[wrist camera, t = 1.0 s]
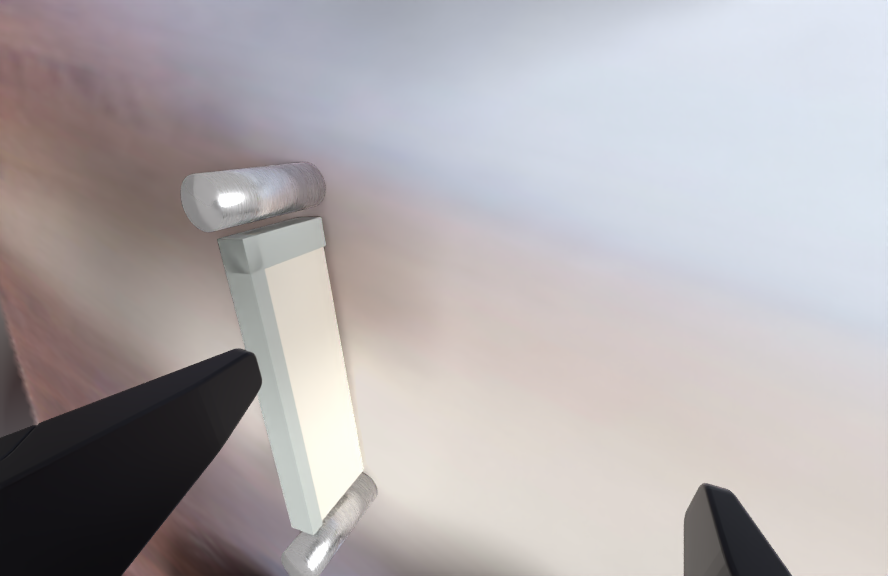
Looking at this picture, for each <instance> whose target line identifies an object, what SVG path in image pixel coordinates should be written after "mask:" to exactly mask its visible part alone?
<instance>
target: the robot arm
mask: <svg viewBox="0 0 888 576" xmlns="http://www.w3.org/2000/svg"><path fill="white" fill-rule="evenodd" d="M261 386H262V376H261V372H260V369H259V365H258V361H257V358H256V355H255V354H254V353H252V352H250V351H246V350H243V349H233V350H230V351H228V352H225V353H223V354H220V355H217V356H215V357H212V358H209V359H207V360H204V361H201V362H199V363H196V364H194V365H191V366H188V367H186V368H183V369H180V370H178V371H175V372H172V373H170V374H167V375H165V376H162V377H159V378H157V379H154V380H151V381H149V382H146V383H143V384H141V385H138V386H136V387H133V388H130V389H128V390H125V391H122V392H120V393H117V394H114V395H112V396H109V397H107V398H104V399H101V400H99V401H96V402H93V403H91V404H88V405H85V406H83V407H80V408H78V409H75V410H72V411H70V412H67V413H64V414H62V415H59V416H56V417H54V418H51V419H49V420H46V421H43V422H41V423H39V424H38V425H32V426H30V427H27V428H25V429H22V430H20V431H17V432H14V433H12V434H9V435H6V436H4V437H1V438H0V576H122V575H123V573H124V572H125V571H126V569H127V568H128V567H129V566H130V564H131V563H132V562H133V561H134V559H135V558H136V557H137V555H138V554H139V553H140V552H141V550H142V549H143V548H144V547H145V545H146V544H147V543H148V542H149V540H150V539H151V538H152V536H153V535H154V534H155V533H156V531H157V530H158V529H159V528H160V526H161V525H162V524H163V522H164V521H165V520H166V519H167V517H168V516H169V515H170V514H171V512H172V511H173V510H174V509H175V507H176V506H177V505H178V503H179V502H180V501H181V500H182V498H183V497H184V496H185V495H186V493H187V492H188V491H189V489H190V488H191V487H192V486H193V484H194V483H195V482H196V481H197V479H198V478H199V477H200V476H201V474H202V473H203V472H204V470H205V469H206V468H207V467H208V465H209V464H210V463H211V462H212V460H213V459H214V458H215V456H216V455H217V454H218V452H219V451H220V450H221V448H222V447H223V445H224V444H225V443H226V441H227V440H228V438H229V437H230V435H231V434H232V432H233V430H234V429H235V427H236V426H237V424H238V423H239V421H240V420H241V418H242V417H243V415H244V414H245V412H246V410H247V409H248V407H249V406H250V404H251V403H252V401H253V400H254V398H255V397H256V395H257V394H258V392H259V390H260V388H261ZM684 576H792V575H791V573H790V572H789V571H788V569H787V568H786V566H785V565H784V563H783V562H782V561H781V559H780V558H779V556H778V555H777V554H776V552H775V551H774V549H773V548H772V547H771V545H770V544H769V542H768V541H767V540H766V538H765V537H764V535H763V534H762V532H761V531H760V530H759V528H758V527H757V525H756V524H755V523H754V521H753V520H752V518H751V517H750V516H749V514H748V513H747V511H746V510H745V509H744V507H743V506H742V504H741V503H740V501H739V500H738V499H737V497H736V496H735V495H734V494H733V493H732V492H731V491H730V490H728V489H725V488H722V487H718V486H715V485H711V484H708V483H704V484H702V485H700V487H699V488H698V490H697V492H696V494H695V496H694V497H693V499H692V501H691V503H690V505H689V507H688V509H687V511H686V514H685V518H684Z"/></svg>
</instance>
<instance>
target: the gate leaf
mask: <svg viewBox="0 0 888 576" xmlns="http://www.w3.org/2000/svg"><path fill="white" fill-rule="evenodd" d="M217 241H218V245H219V249H220V253H221V256H222V260H223V264H224V268H225V272H226V276H227V280H228V283H229V287H230V291H231V295H232V299H233V303H234V306H235V310H236V314H237V318H238V322H239V326H240V330H241V333H242V337H243V341H244V345H245V349H246V351H250V352H252V353H254V354H255V355H256V358H257V361H258V365H259V369H260V372H261V376H262V386H261V388H260V390H259V392H258V394H257V395H258V399H259V403H260V407H261V410H262V414H263V418H264V422H265V426H266V430H267V434H268V437H269V441H270V445H271V449H272V453H273V457H274V461H275V464H276V468H277V472H278V476H279V480H280V484H281V488H282V491H283V495H284V499H285V503H286V507H287V511H288V514H289V518H290V522H291V526H292V528H295V529H298V530H300V531H303V532H306V533H308V534H311V535H314V534H315V533H316V532H317V531H318V529H319V528H320V527H321V526H322V525H323V523H322V520H323V519H324V518H325V517H326V515H327V514H328V513H329V512H330V510H331V509H332V508H333V507H334V506H335V504H336V503H337V502H338V501H339V499H340V498H341V497H342V496H343V495H344V493H345V492H346V491H347V490H348V488H349V487H350V486H351V485H352V484H353V482H354V481H355V480H356V479H357V477H358V476H359V475H360V474H361V473H362V471H363V470H364V469H363V463H362V458H361V452H360V447H359V441H358V436H357V430H356V424H355V419H354V413H353V408H352V402H351V397H350V391H349V386H348V380H347V374H346V369H345V363H344V358H343V352H342V347H341V341H340V336H339V330H338V325H337V319H336V313H335V308H334V302H333V297H332V291H331V286H330V280H329V275H328V269H327V264H326V258H325V252H324V246H326V242H325V236H324V231H323V225H322V220H321V217H298V218H294V219H290V220H286V221H283V222H279V223H275V224H271V225H267V226H264V227H260V228H256V229H252V230H249V231H245V232H241V233H237V234H234V235H230V236H226V237H222V238H219V239H217Z"/></svg>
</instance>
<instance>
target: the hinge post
mask: <svg viewBox="0 0 888 576" xmlns="http://www.w3.org/2000/svg"><path fill="white" fill-rule="evenodd" d="M376 497H377V487H376V485H375V483H374V482H373V480H372V479H371V478H370V477H369V476H367V475H366V474H364V473H361V474H360V475H359V476H358V477H357V479H356V480H355V481H354V482H353V484H352V485H351V486H350V487H349V488H348V490H347V491H346V492H345V493H344V495H343V496H342V497H341V498H340V499H339V501H338V502H337V503H336V504H335V506H334V507H333V508H332V509H331V510H330V512H329V513H328V514H327V515H326V517H325V518H324V519H323V520H322V523H323V525H322V526H321V527H320V528H319V529H318V531H317V532H316V533H315V534H314V535H311V534H308V533H306V532H303V531H301V532H300V534H299V535H298V536H297V537H296V538H295V539H294V541H293V542H292V543H291V544H290V545H289V547H288V548H287V549H286V550H285V551H284V552H283V554H282V556H281V561H282V564H283V566H284V568H285V570H286V571H287V572H288V574H289V575H290V576H319V575H320V574H321V572H322V571H323V570H324V568H325V567H326V566H327V564H328V563H329V561H330V560H331V559H332V557H333V556H334V555H335V553H336V552H337V550H338V549H339V548H340V546H341V545H342V543H343V542H344V541H345V539H346V538H347V537H348V535H349V534H350V532H351V531H352V530H353V528H354V527H355V526H356V524H357V523H358V521H359V520H360V519H361V517H362V516H363V515H364V513H365V512H366V510H367V509H368V508H369V506H370V505H371V503H372V502H373V501H374V499H375V498H376Z"/></svg>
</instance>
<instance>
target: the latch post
mask: <svg viewBox="0 0 888 576" xmlns="http://www.w3.org/2000/svg"><path fill="white" fill-rule="evenodd" d="M324 196H325V182H324V178H323V176H322V174H321V172H320V171H319V170H318V169H317V168H316V167H315V166H314V165H313V164H311V163H308V162H299V163H290V164H280V165H271V166H262V167H253V168H243V169H234V170H225V171H216V172H206V173H197V174H191V175H188V176H187V177H186V178H185V179H184V181H183V183H182V186H181V202H182V206H183V209H184V211H185V213H186V215H187V217H188V218H189V220H190V221H191V222H192V223H193V225H195V226H196V227H197V228H198V229H200V230H202V231H204V232H214V231H218V230H222V229H226V228H230V227H234V226H238V225H242V224H246V223H250V222H254V221H258V220H262V219H266V218H270V217H275V216H279V215H283V214H287V213H291V212H295V211H299V210H303V209H307V208H311V207H315V206H317V205H319V204H320V203H321V202H322V200H323V198H324Z"/></svg>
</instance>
